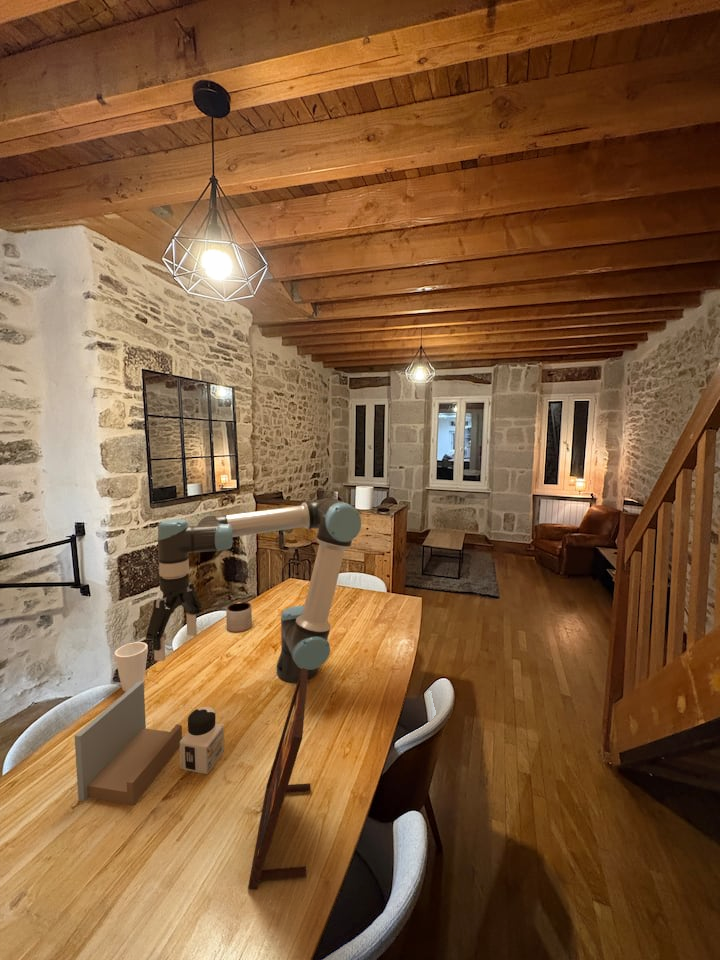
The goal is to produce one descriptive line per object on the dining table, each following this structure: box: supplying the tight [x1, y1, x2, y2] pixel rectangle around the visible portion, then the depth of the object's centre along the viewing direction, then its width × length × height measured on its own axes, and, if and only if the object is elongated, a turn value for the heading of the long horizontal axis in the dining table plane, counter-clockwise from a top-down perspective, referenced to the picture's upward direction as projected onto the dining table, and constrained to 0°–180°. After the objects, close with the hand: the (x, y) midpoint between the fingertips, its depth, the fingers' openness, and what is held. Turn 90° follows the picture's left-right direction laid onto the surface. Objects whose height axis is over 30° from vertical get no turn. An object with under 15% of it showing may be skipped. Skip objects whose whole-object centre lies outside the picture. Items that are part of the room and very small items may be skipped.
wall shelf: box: [74, 681, 183, 806], centre depth 95 cm, size 13×20×16 cm, turn 171°
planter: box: [225, 601, 253, 633], centre depth 169 cm, size 11×11×10 cm
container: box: [179, 706, 225, 775], centre depth 98 cm, size 8×8×13 cm
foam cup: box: [114, 641, 149, 693], centre depth 127 cm, size 10×9×13 cm
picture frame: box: [247, 668, 312, 891], centre depth 79 cm, size 21×11×30 cm, turn 5°
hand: (176, 646), depth 108 cm, fingers open, 13 cm apart
